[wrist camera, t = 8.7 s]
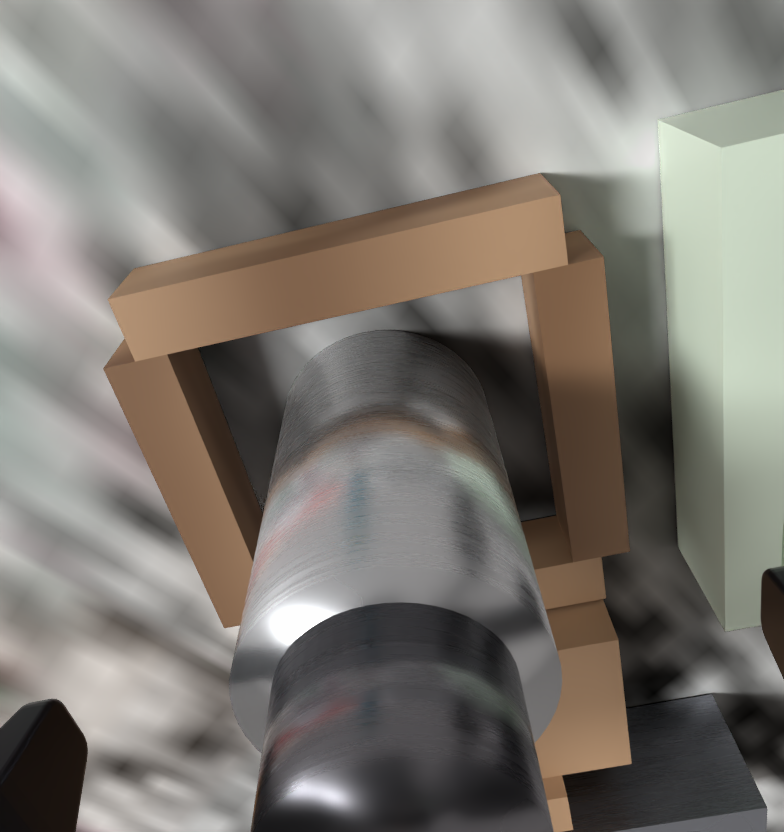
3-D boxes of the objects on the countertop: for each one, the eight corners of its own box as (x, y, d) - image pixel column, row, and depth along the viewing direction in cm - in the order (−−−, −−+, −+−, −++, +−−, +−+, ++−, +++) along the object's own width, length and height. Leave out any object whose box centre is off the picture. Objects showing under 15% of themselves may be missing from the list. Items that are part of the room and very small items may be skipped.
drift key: (711, 694, 19) (767, 807, 16) (713, 767, 20) (764, 883, 18) (281, 767, 20) (267, 885, 17) (312, 833, 21) (304, 950, 19)
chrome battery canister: (469, 309, 14) (587, 690, 6) (502, 486, 16) (623, 937, 8) (257, 356, 14) (128, 770, 7) (315, 523, 16) (267, 988, 8)
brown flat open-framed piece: (572, 165, 12) (627, 211, 10) (640, 812, 21) (678, 928, 19) (104, 275, 13) (38, 347, 10) (357, 857, 22) (355, 975, 19)
